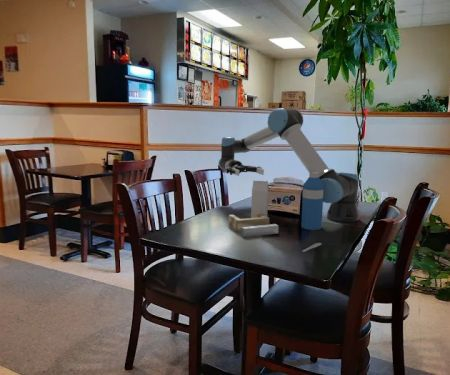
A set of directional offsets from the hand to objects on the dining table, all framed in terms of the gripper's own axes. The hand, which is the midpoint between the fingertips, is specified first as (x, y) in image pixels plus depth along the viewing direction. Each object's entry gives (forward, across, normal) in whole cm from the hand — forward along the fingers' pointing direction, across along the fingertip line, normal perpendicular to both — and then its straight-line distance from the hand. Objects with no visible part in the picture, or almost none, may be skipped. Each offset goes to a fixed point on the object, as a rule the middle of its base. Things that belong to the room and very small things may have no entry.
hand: (251, 172), depth 186 cm
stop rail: (+32, +10, -21) cm, 40 cm away
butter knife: (+56, +5, -22) cm, 60 cm away
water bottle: (+29, -17, -21) cm, 40 cm away
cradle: (+20, +10, -21) cm, 31 cm away
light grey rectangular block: (+10, 0, -22) cm, 24 cm away
